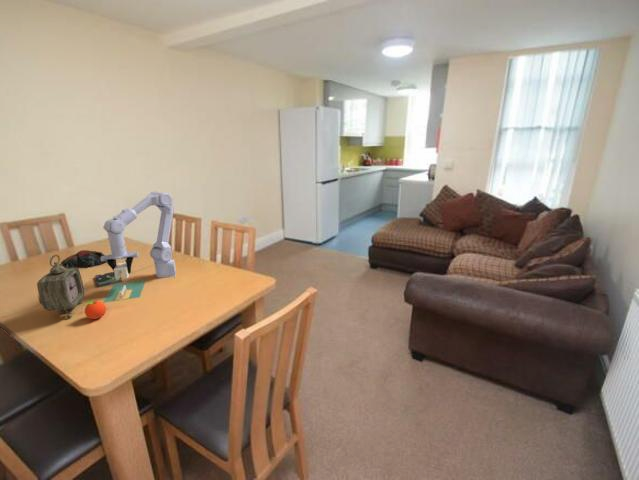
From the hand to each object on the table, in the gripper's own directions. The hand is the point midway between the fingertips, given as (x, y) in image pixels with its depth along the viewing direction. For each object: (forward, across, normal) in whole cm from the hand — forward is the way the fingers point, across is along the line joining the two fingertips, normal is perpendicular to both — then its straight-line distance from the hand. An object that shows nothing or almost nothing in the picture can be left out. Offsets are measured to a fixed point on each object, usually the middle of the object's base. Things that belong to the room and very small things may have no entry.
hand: (123, 273), depth 144 cm
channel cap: (+1, 0, 0) cm, 1 cm away
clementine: (+9, -7, -23) cm, 25 cm away
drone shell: (+10, -30, +50) cm, 59 cm away
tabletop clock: (+9, -19, -14) cm, 25 cm away
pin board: (+9, 0, -2) cm, 9 cm away
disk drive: (+10, -11, +16) cm, 21 cm away
